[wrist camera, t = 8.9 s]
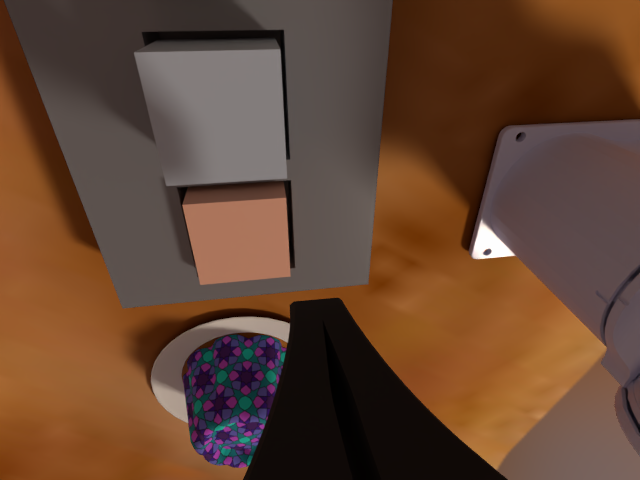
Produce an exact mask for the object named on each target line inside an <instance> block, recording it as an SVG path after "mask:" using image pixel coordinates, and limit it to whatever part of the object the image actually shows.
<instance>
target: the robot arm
mask: <svg viewBox="0 0 640 480" xmlns="http://www.w3.org/2000/svg"><path fill="white" fill-rule="evenodd" d="M520 132H521V136H520V137H519V138H518V139H516V136H517V135H518V134H519V133H520ZM486 249H487V250H486ZM484 250H486V251H485V252H484ZM469 254H470V255H471V257H472V258H474V259H483V258H494V257H505V256H515V255H516V256H517V257H518V258H519V259H520V260H521V261H522V262H523V263H524V264H525V265H526V266H527V267H528V268H529V269H530V270H531V271H532V272H533V273H534V274H535V275H536V276H537V277H538V278H539V279H540V280H541V281H542V282H543V283H544V284H545V285H546V286H547V287H548V288H549V289H550V290H551V291H552V292H553V293H554V294H555V295H556V296H557V297H558V298H559V299H560V300H561V301H562V302H563V303H564V304H565V305H566V307H567V308H568V309H569V310H570V311H571V312H572V313H573V314H574V315H575V316H576V317H577V318H578V319H579V320H580V321H581V322H582V323H583V324H584V325H585V326H586V327H587V328H588V329H589V330H590V331H591V332H592V333H593V334H594V335H595V336H596V337H597V338H598V339H599V340H600V341H601V342H602V343H603V344H604V345H605V346H606V347H607V351H606V354H605V356H604V358H603V359H602V361H601V364H602V365H603V366H604V368H605V369H606V370H607V371H608V372H609V373H610V374H611V375H612V376H613V377H614V378H615V379H616V380H617V381H618V383H619V384H620V385H621V386H620V387H619V388H618V390H617V393H616V395H615V411H616V416H617V418H618V421H619V423H620V426H621V428H622V430H623V432H624V433H625V435H626V437H627V439H628V441H629V442H630V444H631V445H632V446H633V448H634V449H635V450H636V452H637V453H638V455H639V456H640V119H633V120H613V121H592V122H572V123H552V124H532V125H511V126H507V127H505V128H503V129H502V131H501V132H500V134H499V136H498V140H497V143H496V147H495V151H494V155H493V159H492V163H491V167H490V171H489V174H488V178H487V182H486V186H485V190H484V194H483V198H482V202H481V205H480V209H479V213H478V217H477V221H476V225H475V229H474V233H473V236H472V240H471V244H470V248H469ZM243 480H508V479H506V478H505V477H504V476H503V475H501V474H500V473H499V472H498V471H497V470H495V469H494V468H493V467H492V466H491V465H489V464H488V463H487V462H486V461H485V460H484V459H482V458H481V457H480V456H479V455H478V454H477V453H475V452H474V451H473V450H472V449H471V448H469V447H468V446H467V445H466V444H465V443H464V442H462V441H461V440H460V439H459V438H458V437H457V436H456V435H455V434H453V433H452V432H451V431H450V430H449V429H448V428H447V427H446V426H445V425H444V424H443V423H442V422H441V421H440V420H439V419H438V418H436V417H435V416H434V415H433V414H432V413H431V412H430V411H429V410H428V409H427V408H426V407H425V406H424V405H423V404H422V403H421V401H420V400H419V399H418V398H417V397H416V396H415V395H414V394H413V393H412V392H411V391H410V390H409V389H408V388H407V386H406V385H405V384H404V383H403V382H402V381H401V380H400V379H399V377H398V376H397V375H396V374H395V373H394V372H393V370H392V369H391V368H390V367H389V366H388V364H387V363H386V362H385V361H384V360H383V358H382V357H381V356H380V354H379V353H378V352H377V351H376V349H375V348H374V347H373V346H372V344H371V343H370V342H369V340H368V339H367V338H366V336H365V335H364V333H363V332H362V331H361V329H360V328H359V326H358V325H357V324H356V322H355V321H354V319H353V318H352V316H351V314H350V313H349V311H348V310H347V308H346V307H345V305H344V303H343V301H342V300H341V299H339V298H330V299H318V300H307V301H296V302H293V303H292V304H291V305H290V331H289V338H288V344H287V349H286V353H285V358H284V363H283V367H282V371H281V375H280V378H279V382H278V385H277V389H276V392H275V396H274V399H273V403H272V406H271V409H270V412H269V415H268V418H267V421H266V423H265V426H264V429H263V432H262V434H261V437H260V440H259V442H258V445H257V447H256V450H255V452H254V455H253V457H252V460H251V462H250V465H249V467H248V470H247V472H246V474H245V477H244V479H243Z"/></svg>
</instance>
